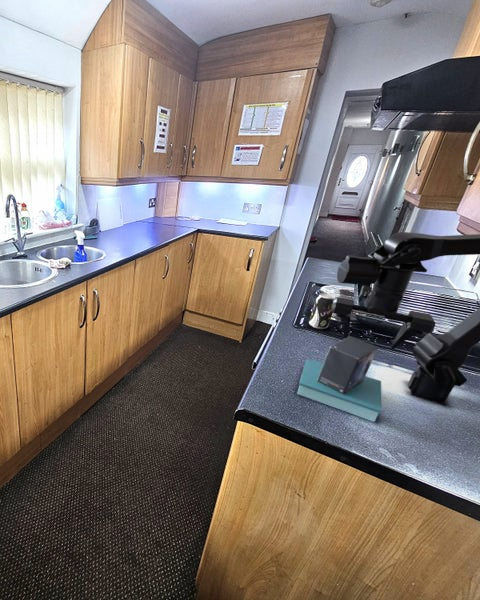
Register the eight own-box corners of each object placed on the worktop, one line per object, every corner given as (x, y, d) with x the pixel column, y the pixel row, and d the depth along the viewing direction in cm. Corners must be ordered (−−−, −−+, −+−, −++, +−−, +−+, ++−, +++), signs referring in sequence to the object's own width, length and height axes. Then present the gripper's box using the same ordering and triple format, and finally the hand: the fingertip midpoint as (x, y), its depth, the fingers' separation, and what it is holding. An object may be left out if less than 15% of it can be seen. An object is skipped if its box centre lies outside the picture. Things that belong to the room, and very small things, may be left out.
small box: (345, 396, 78) (360, 359, 74) (315, 381, 83) (328, 346, 79) (365, 381, 83) (380, 346, 78) (336, 368, 88) (349, 334, 84)
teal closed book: (375, 392, 84) (381, 380, 83) (376, 423, 75) (382, 411, 73) (303, 368, 94) (307, 358, 92) (295, 394, 84) (299, 382, 82)
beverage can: (313, 329, 115) (323, 298, 110) (305, 322, 120) (314, 292, 115) (330, 330, 114) (341, 299, 109) (321, 323, 119) (331, 292, 114)
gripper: (439, 285, 78) (413, 341, 84) (342, 271, 89) (325, 321, 95) (448, 300, 70) (419, 361, 76) (340, 282, 81) (322, 337, 87)
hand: (367, 343), depth 84 cm, fingers open, 9 cm apart
